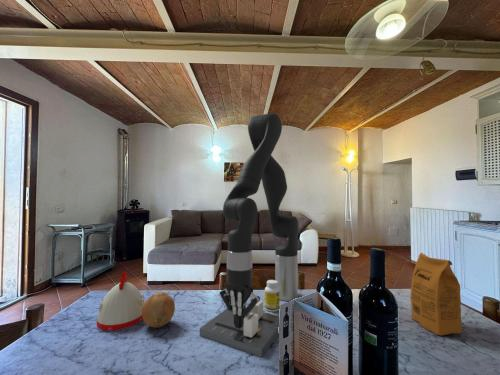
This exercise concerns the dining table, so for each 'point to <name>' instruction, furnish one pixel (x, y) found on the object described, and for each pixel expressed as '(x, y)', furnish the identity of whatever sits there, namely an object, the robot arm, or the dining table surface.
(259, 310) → the fader
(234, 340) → the console
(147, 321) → the onion
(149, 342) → the dining table surface
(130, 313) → the kitchen timer
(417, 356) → the dining table surface
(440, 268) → the coffee package
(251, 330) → the fader
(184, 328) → the dining table surface
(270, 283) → the supplement bottle
